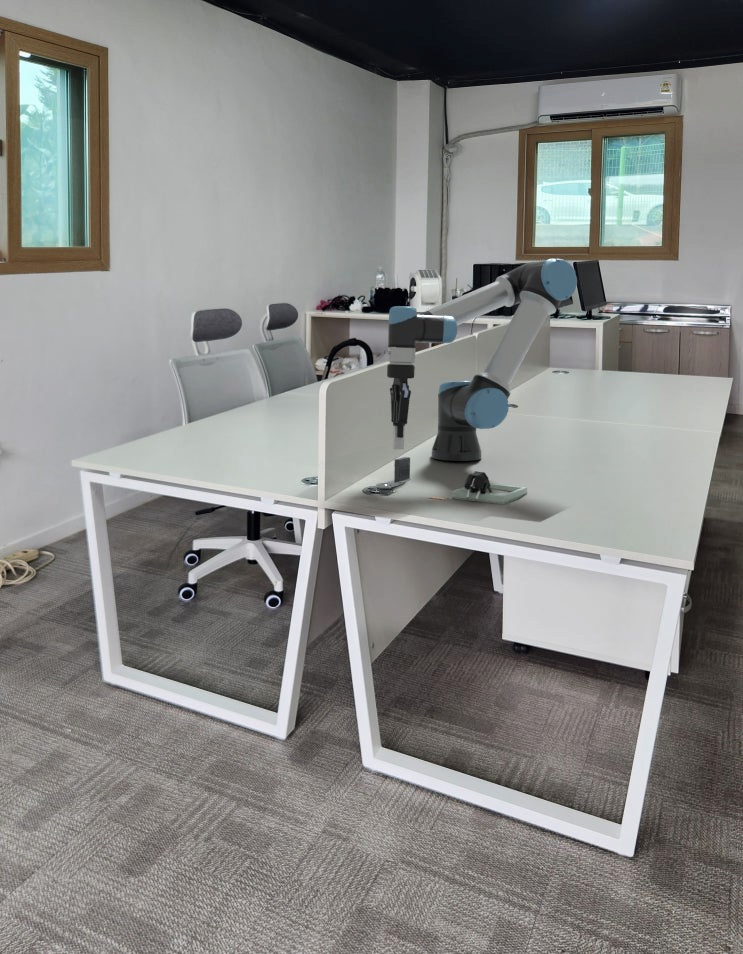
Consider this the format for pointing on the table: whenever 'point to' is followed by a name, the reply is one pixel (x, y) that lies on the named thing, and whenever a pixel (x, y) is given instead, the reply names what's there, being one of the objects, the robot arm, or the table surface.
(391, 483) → the crank
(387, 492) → the hub
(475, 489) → the power plug
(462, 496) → the tray
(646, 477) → the table surface
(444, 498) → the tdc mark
